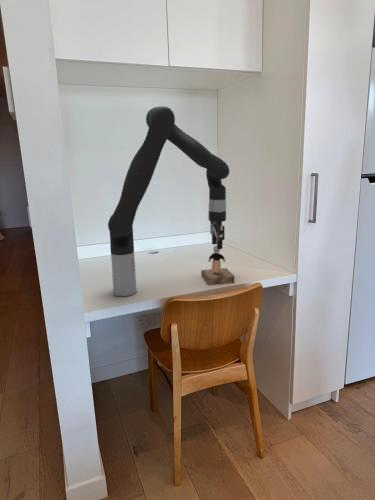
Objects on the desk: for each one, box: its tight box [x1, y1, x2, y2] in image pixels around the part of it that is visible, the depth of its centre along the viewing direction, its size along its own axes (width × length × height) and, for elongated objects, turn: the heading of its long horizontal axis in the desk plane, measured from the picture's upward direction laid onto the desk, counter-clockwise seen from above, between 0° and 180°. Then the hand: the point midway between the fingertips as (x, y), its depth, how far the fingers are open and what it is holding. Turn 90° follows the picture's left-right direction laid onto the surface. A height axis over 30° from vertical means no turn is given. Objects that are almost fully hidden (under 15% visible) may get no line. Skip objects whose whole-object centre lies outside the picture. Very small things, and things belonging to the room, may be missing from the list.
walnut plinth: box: [200, 267, 235, 286], centre depth 155 cm, size 12×12×3 cm
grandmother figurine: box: [207, 245, 226, 274], centre depth 153 cm, size 8×4×13 cm, turn 89°
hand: (217, 246), depth 152 cm, fingers open, 8 cm apart
